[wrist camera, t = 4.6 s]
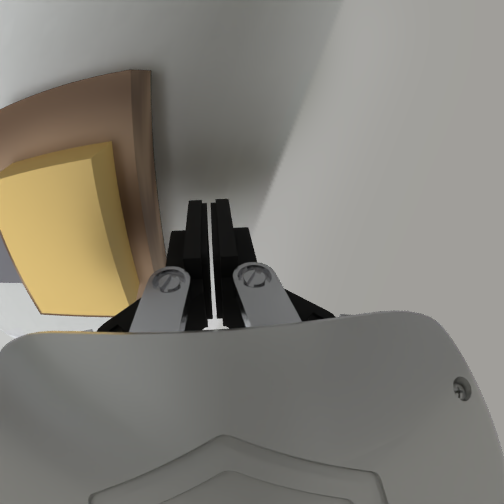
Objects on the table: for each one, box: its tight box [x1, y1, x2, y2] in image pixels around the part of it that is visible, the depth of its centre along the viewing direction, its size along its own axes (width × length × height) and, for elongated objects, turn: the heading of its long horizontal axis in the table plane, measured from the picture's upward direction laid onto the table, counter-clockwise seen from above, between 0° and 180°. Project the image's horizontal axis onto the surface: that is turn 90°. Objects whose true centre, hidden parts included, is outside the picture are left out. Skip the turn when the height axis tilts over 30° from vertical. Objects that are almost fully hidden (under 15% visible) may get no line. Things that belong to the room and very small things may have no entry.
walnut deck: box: [0, 70, 167, 317], centre depth 13 cm, size 14×10×4 cm
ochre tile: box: [0, 141, 140, 316], centre depth 11 cm, size 8×6×2 cm
